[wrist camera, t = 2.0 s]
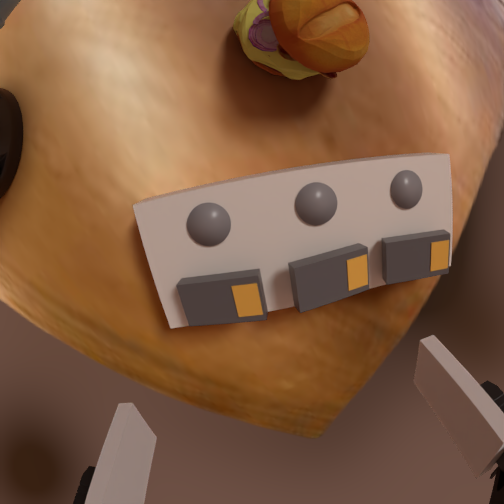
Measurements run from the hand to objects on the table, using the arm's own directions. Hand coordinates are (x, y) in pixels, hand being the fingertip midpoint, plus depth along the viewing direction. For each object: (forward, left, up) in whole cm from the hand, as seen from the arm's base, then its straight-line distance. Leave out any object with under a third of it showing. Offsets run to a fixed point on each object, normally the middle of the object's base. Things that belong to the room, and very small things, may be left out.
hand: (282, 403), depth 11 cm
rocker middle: (+6, -1, -14) cm, 15 cm away
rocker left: (-3, -1, -14) cm, 14 cm away
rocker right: (+15, -1, -14) cm, 20 cm away
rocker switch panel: (+6, +2, -19) cm, 20 cm away
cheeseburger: (+8, +21, -19) cm, 30 cm away
